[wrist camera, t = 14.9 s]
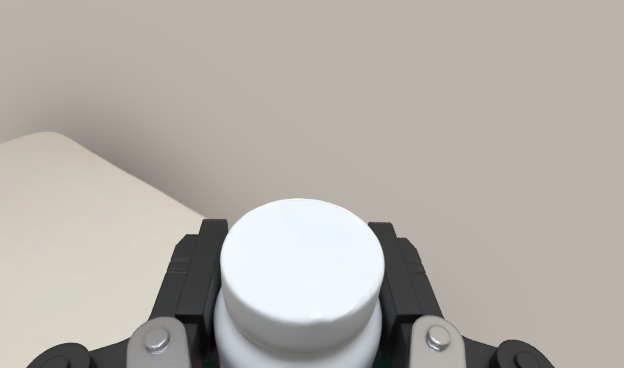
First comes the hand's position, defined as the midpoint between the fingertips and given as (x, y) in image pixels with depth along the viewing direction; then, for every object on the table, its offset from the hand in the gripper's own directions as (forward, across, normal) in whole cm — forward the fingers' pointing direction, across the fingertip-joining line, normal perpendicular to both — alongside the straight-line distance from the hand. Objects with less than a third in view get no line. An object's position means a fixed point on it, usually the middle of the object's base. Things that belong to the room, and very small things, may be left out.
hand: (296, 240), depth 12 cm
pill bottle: (-3, 0, +6) cm, 7 cm away
